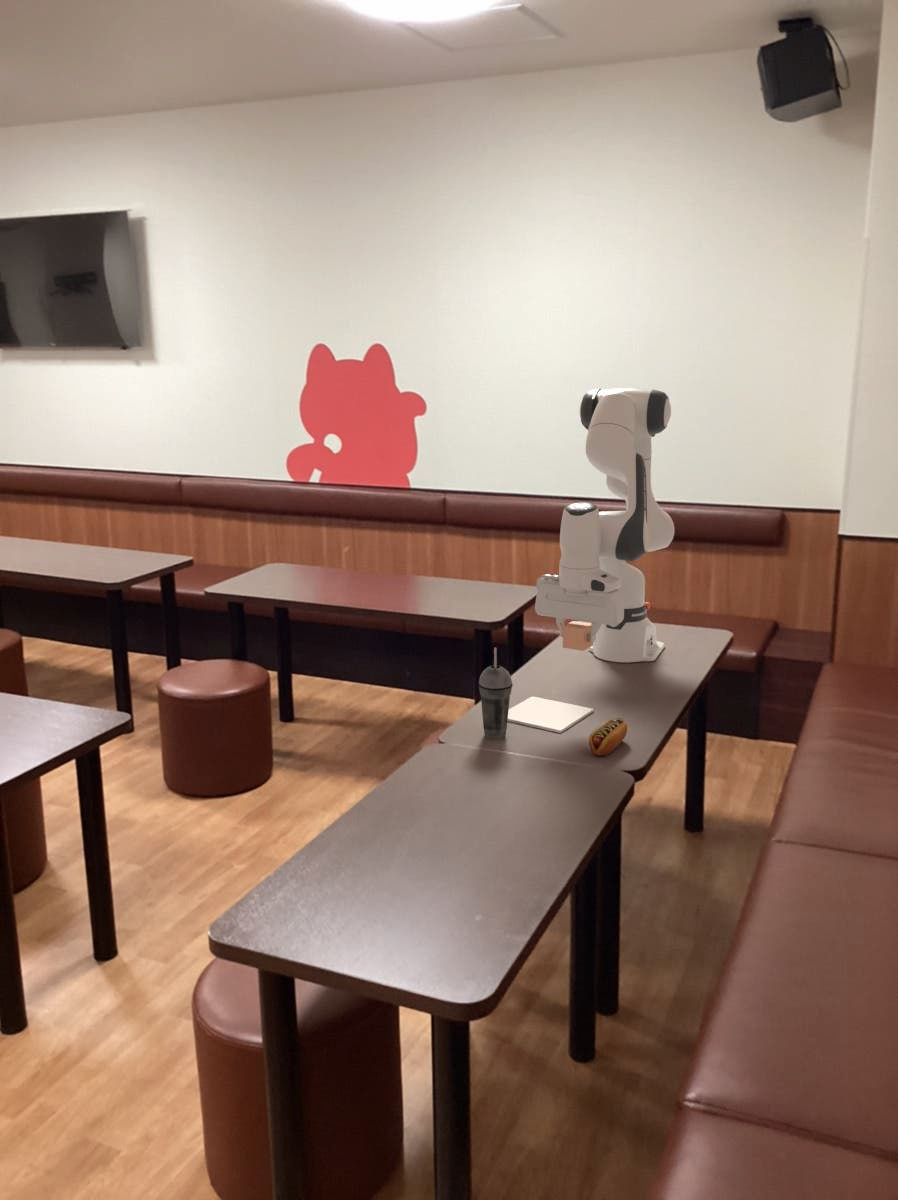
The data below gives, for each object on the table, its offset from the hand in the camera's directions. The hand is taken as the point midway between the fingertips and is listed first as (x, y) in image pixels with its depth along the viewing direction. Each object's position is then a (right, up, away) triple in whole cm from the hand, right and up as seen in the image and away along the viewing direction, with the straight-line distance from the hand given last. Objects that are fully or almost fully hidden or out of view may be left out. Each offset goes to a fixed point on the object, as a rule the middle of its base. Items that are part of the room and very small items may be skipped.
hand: (578, 639), depth 231 cm
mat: (-7, -17, +4) cm, 19 cm away
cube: (0, -2, 0) cm, 2 cm away
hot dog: (+4, -22, -15) cm, 27 cm away
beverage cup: (-19, -21, -8) cm, 29 cm away
